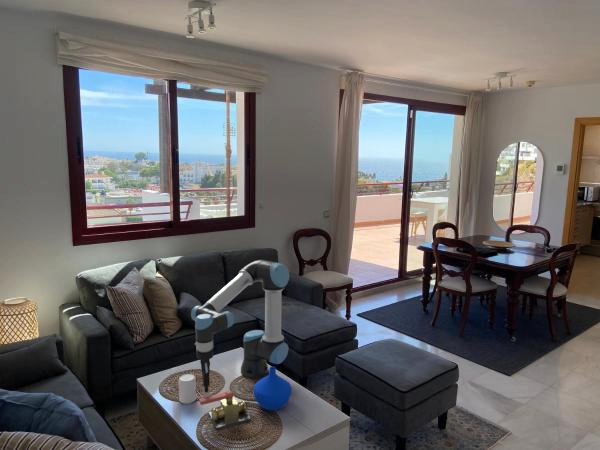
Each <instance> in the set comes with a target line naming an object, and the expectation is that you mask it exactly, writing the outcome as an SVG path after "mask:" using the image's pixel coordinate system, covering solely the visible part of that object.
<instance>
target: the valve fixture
mask: <svg viewBox="0 0 600 450" xmlns="http://www.w3.org/2000/svg"><path fill="white" fill-rule="evenodd" d="M208 416H209V418H210V420H211V421H212V423H213V426H214V428H215V430H216V431H218V430H221V429H225V428H228V427H232V426H236V425H239V424H242V423H248V422H251V420H252V417H251V415H249V413H248V404H247V402H246V401H245V400H241V402H240V403H239V402H238V401H237V399H236V398H235V397H234V396H233V397H232V398H227V399H223V400H220V408H216V407H213V408H212V409H211V411H208Z"/></svg>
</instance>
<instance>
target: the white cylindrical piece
mask: <svg viewBox="0 0 600 450" xmlns="http://www.w3.org/2000/svg"><path fill="white" fill-rule="evenodd" d="M196 382H197V381H196V377H195V375H194V374H192V373H186V374H183V375H180V376H179V379H178V400H179V402H180V403H181V404H185V405H187V404H192V403H194V402H195V401H196V399H197V385H196V384H197V383H196Z"/></svg>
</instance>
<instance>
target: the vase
mask: <svg viewBox="0 0 600 450" xmlns="http://www.w3.org/2000/svg"><path fill="white" fill-rule="evenodd" d="M276 372H277V370H276V367H275V366H270V367H269V373H268V374H267V376H266V375H265V376H264V377H263V378H261V379H260V380H258V381H257V382H256V383H255V385H254V387H253V395H254V399H255V401H256V403H257V405H259V406H260V407H261V408H262V409H264V410H267V411H279V410H280V409H282V408H284V407H285V406H286V405H287V403H288V402H289V401H290V398H291V396H292V385H291V384H290V381H288V380H287V379H285V378H282V377H281V376H279V375H278V374H277V373H276Z"/></svg>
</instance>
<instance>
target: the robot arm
mask: <svg viewBox="0 0 600 450" xmlns="http://www.w3.org/2000/svg"><path fill="white" fill-rule="evenodd" d="M289 281H290V272H289V269H288V267H287V266H286V265H285V264H283V263H280V262H275V261H269V260H266V259H258V260H254V261H252V262H250V263H248V264H247V265H245V266H244V267H243V268H241V269H240V270H239V272H238V274H237V275H236V276H235V277H234V278H233V279H231V280H230V281H229V282H228V283H226V285H224V286H223V287H222V288H221V289H220V290H219V291H218V292H217V293H215V294H214V295H213V296H212V297H211V298H210V299H208V300H207V301H206V302H205V303H204V304H203V305H195V306H194V307H193V308H192V309H191V312H190V317H191V320H193V321H194V322H195V323H194V324H195V325H194V328H195V343H194V345H195V346H196V351H195V354H196V356H195V357H196V359H198V360H199V361H200V369H201V379H202V383H201V387H202V398H204V397H208V396H210V383H211V380H210V371H211V370H210V366H211V361H210V360H211V359H212V358H213V357H214V334H217V333H218V332H219V333H220V332H221V331H224V330H227V329H228V328H230V327H233V325H234V323H235V317H234V315H233V313H232V312H230V311H228V310H227V311H222V312H220V311H221V310H222V309H224V308H225V307H226V306H227V305H228V304H229V303H231V301H232V300H234V299H235V298H236V297H237V296H238V295H239V294H241V292H242V291H243V290H245V289H246V288H247V287H248V286H252V285H253V284H254V283H256V282H260V283H261V285H262V287H261V288H262V290H263V291H264V292H265V293H264V330H261V329H253V330H249V331H247V332H246V333H245V334H244V335H243V362H242V363H241V366H240V373H241V375H242V376H243V377H245V378H248V379H249V378H250V379H257V378H258V379H259V378H262V377H265V376H266V375H268V374H269V373H268V372H269V367H268V363H267V362H270V363H271V364H274V365H279V364H282V362H284V360H285V359H286V358H287V356H288V353H289V345H288V344H287V343H286V342H285V336H284V335H283V334H282V291H283V290H285V288H286V286H287V284H288V283H289Z"/></svg>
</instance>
